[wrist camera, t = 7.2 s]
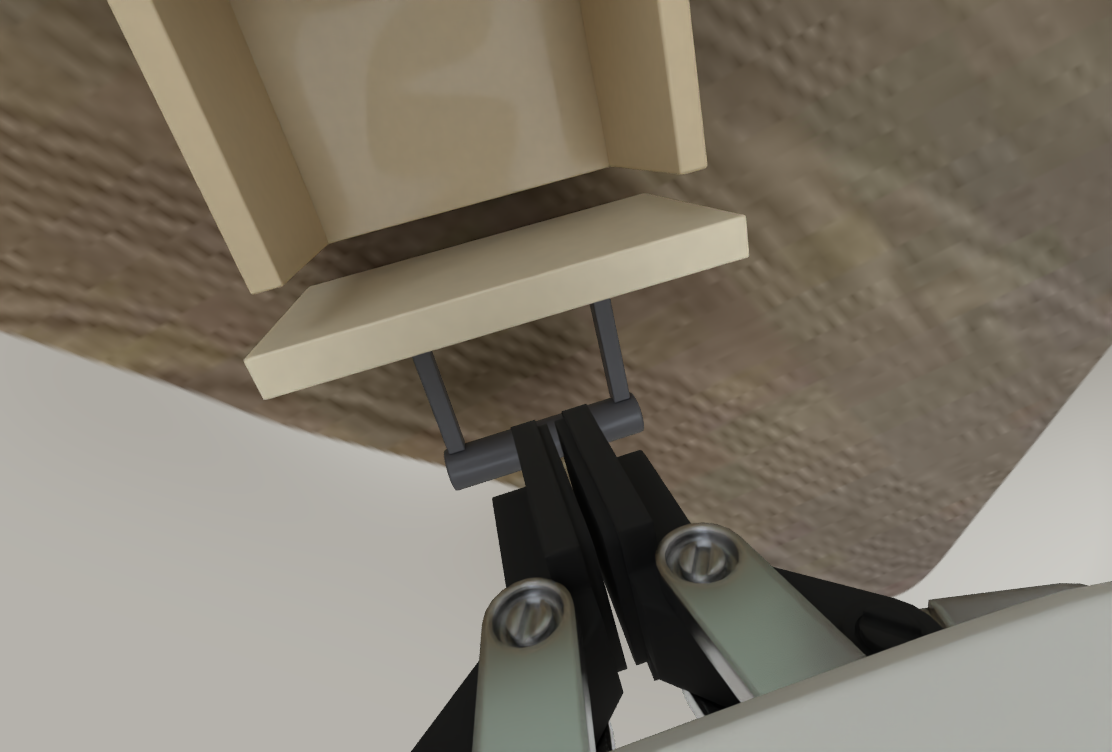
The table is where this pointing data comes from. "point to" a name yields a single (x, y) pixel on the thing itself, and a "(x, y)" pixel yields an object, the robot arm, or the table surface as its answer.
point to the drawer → (435, 170)
